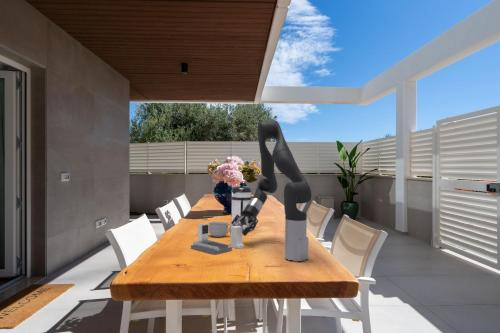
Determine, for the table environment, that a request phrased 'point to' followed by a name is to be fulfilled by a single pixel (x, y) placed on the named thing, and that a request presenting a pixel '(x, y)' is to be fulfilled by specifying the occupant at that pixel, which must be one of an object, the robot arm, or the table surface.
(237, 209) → the coffee press
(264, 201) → the robot arm
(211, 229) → the teacup
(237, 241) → the white stepped block
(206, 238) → the rail
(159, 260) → the table surface
